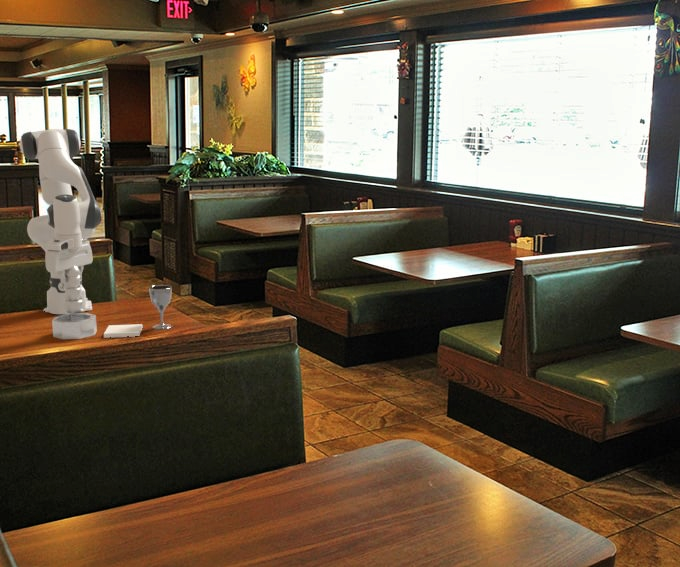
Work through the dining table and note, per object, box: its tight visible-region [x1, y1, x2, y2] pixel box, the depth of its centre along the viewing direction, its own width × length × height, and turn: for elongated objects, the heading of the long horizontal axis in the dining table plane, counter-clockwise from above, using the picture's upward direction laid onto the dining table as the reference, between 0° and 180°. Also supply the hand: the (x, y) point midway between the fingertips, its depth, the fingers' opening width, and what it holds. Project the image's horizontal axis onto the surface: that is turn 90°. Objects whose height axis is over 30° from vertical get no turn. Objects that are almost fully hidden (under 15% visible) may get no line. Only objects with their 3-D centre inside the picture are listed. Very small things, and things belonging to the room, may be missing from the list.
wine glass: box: [148, 284, 173, 330], centre depth 291 cm, size 8×8×15 cm
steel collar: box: [51, 312, 98, 340], centre depth 282 cm, size 14×14×6 cm
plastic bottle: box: [64, 266, 84, 314], centre depth 279 cm, size 6×7×20 cm
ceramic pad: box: [103, 323, 143, 339], centre depth 283 cm, size 12×12×2 cm
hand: (71, 280), depth 279 cm, fingers closed on plastic bottle, 6 cm apart
